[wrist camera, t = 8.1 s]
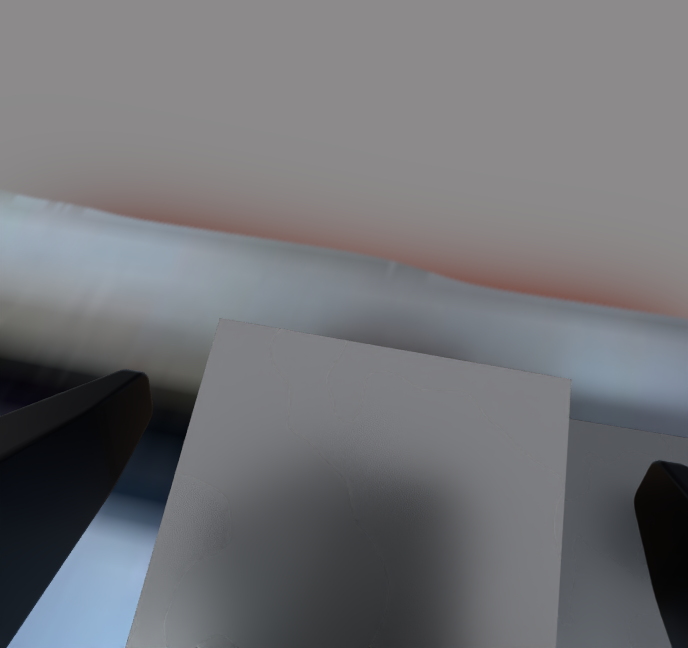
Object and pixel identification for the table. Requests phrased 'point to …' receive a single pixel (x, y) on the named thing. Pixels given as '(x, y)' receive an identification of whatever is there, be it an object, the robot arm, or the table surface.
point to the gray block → (360, 502)
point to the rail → (608, 538)
